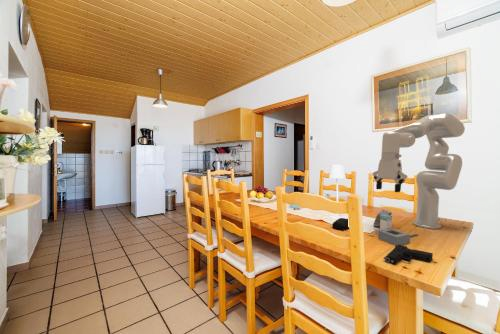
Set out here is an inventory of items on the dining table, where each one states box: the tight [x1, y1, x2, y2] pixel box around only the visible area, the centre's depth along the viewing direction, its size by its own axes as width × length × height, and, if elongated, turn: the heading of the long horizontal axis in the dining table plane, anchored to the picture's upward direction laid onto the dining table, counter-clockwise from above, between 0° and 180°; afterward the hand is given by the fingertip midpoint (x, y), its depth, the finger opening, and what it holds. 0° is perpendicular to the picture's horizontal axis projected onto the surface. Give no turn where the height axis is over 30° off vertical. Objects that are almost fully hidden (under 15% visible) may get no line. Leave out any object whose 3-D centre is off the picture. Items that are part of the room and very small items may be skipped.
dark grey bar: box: [410, 233, 419, 239], centre depth 108 cm, size 11×1×1 cm, turn 112°
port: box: [377, 227, 411, 246], centre depth 104 cm, size 9×9×4 cm
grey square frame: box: [374, 228, 380, 235], centre depth 112 cm, size 7×7×2 cm
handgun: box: [383, 244, 434, 265], centre depth 85 cm, size 3×17×12 cm
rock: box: [373, 209, 393, 228], centre depth 126 cm, size 16×8×10 cm, turn 122°
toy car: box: [331, 217, 349, 231], centre depth 123 cm, size 8×17×5 cm, turn 125°
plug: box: [379, 214, 393, 230], centre depth 111 cm, size 4×4×10 cm
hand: (387, 190), depth 111 cm, fingers open, 9 cm apart
